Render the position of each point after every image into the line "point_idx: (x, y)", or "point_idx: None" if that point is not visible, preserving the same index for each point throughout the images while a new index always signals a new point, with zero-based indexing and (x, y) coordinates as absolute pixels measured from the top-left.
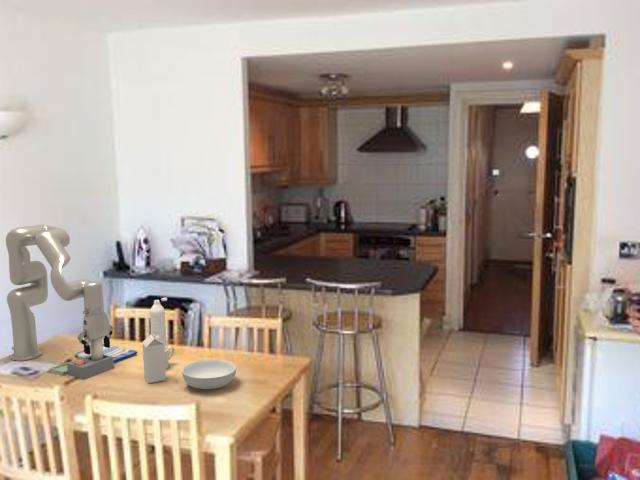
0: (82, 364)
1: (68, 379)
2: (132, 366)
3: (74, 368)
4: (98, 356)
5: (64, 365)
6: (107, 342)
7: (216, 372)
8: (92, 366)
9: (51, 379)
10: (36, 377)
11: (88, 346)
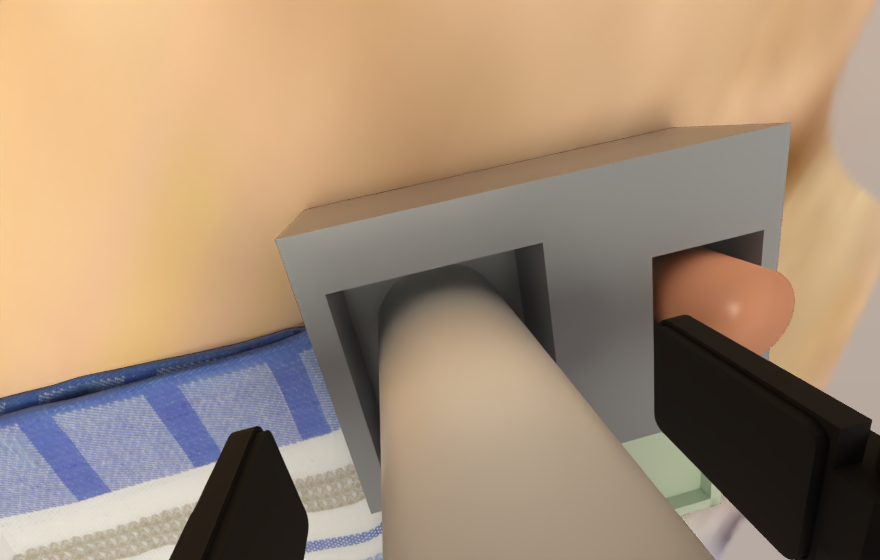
0: (704, 254)
1: None
2: (86, 94)
3: None
4: (487, 309)
5: None
6: (243, 535)
7: None
8: (621, 156)
9: (788, 336)
10: None
11: (830, 410)
